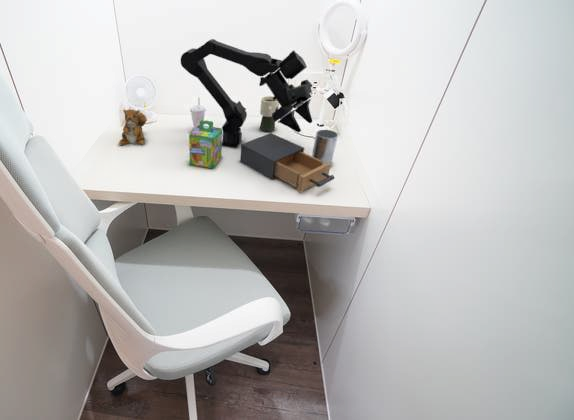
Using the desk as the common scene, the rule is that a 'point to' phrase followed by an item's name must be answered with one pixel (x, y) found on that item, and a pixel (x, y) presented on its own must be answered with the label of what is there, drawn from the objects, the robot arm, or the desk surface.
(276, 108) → the character mug
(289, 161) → the drawer
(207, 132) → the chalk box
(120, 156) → the desk surface
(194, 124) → the smoothie
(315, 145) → the steel cup
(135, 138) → the stuffed squirrel
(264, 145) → the organizer
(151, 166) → the desk surface
